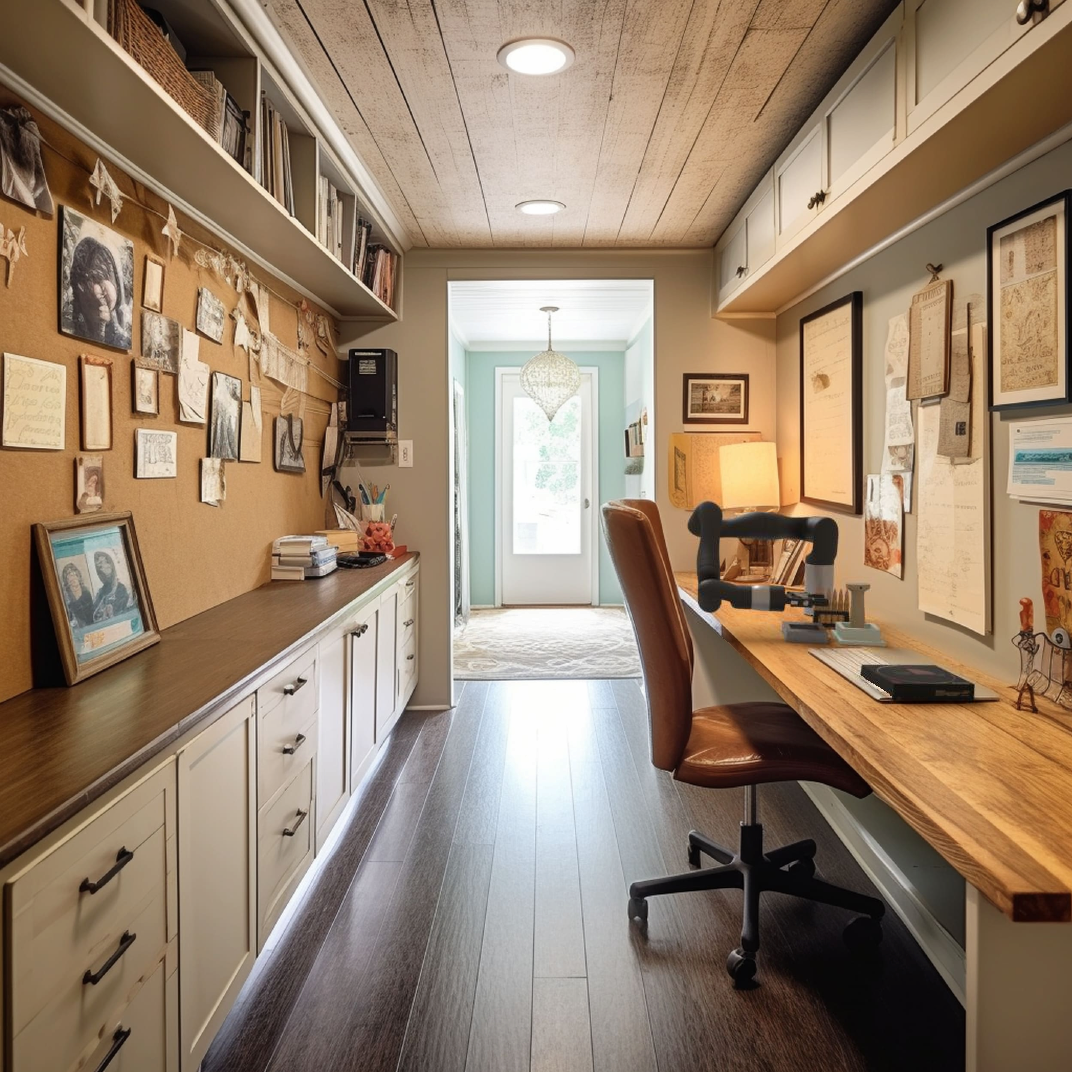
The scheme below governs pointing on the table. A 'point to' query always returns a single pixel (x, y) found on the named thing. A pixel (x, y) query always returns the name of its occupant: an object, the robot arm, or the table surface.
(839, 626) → the grey shallow tray
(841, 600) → the ammunition clip
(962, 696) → the portable cd player
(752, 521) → the robot arm
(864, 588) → the handle
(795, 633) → the socket block
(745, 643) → the table surface
